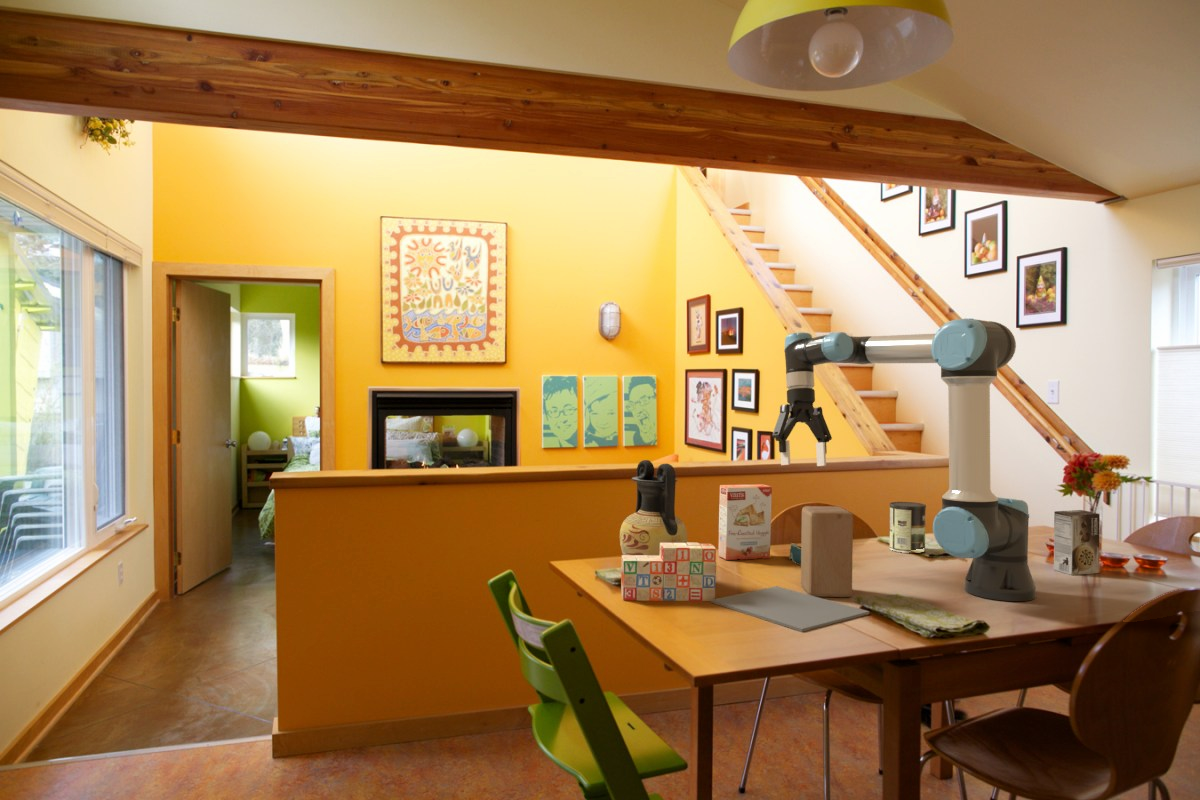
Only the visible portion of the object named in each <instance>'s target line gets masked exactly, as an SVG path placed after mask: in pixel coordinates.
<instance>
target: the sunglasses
mask: <svg viewBox="0 0 1200 800" xmlns="http://www.w3.org/2000/svg"><path fill="white" fill-rule="evenodd" d="M790 545H791V546H790V549H789V556H788V558H789V560H790V559H792V562H793V563H794V562H796V563H795V564H797V563H798V564H797V565H801V546H798V544H797V543H794V542H793V543H792V542H791V543H790ZM791 557H792V558H791Z"/></svg>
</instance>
